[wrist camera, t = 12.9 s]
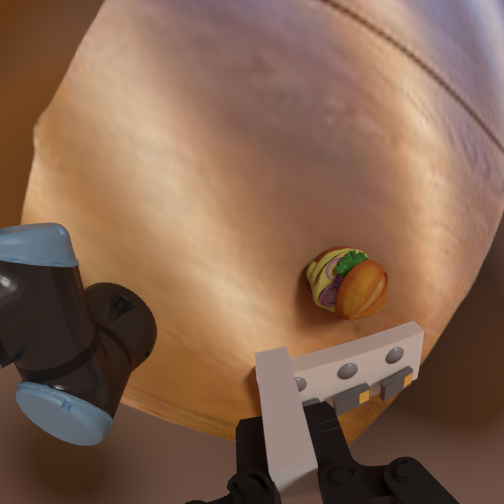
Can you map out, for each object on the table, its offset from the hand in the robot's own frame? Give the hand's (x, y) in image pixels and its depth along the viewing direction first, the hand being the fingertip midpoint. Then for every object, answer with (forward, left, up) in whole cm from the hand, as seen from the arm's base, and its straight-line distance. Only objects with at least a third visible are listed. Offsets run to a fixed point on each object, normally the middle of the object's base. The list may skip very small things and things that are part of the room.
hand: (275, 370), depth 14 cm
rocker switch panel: (+11, -29, -28) cm, 42 cm away
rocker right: (+20, -32, -23) cm, 44 cm away
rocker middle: (+11, -32, -23) cm, 41 cm away
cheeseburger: (+12, -10, -29) cm, 33 cm away
